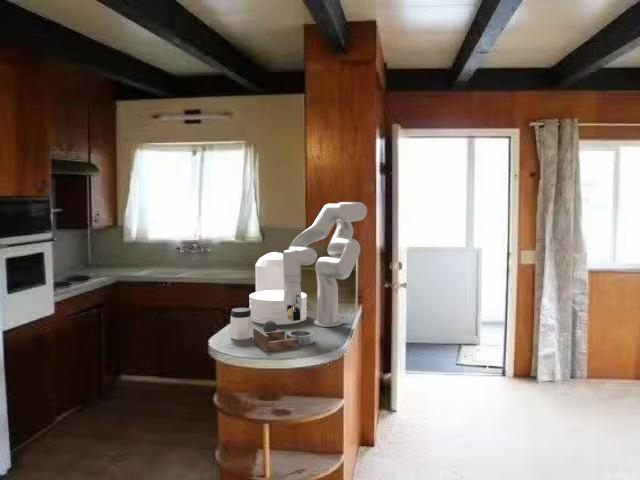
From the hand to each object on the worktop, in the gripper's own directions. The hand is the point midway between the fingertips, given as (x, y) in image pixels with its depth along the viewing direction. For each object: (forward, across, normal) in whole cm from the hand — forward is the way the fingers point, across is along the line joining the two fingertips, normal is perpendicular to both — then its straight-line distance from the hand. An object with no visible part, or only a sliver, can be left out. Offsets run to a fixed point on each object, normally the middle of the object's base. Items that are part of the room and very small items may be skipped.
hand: (293, 318), depth 243 cm
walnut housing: (+6, +14, -14) cm, 21 cm away
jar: (+6, -2, -23) cm, 24 cm away
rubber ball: (+3, -2, -10) cm, 11 cm away
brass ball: (-2, 0, 0) cm, 2 cm away
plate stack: (+8, -30, +5) cm, 32 cm away
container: (+9, -69, +18) cm, 71 cm away
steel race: (+6, +14, -3) cm, 16 cm away
